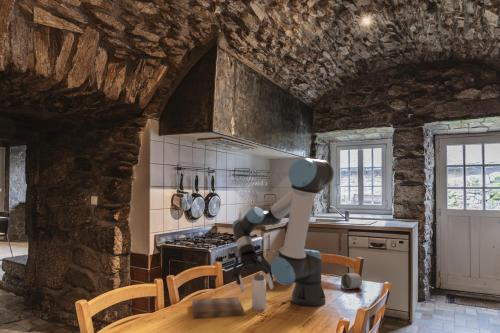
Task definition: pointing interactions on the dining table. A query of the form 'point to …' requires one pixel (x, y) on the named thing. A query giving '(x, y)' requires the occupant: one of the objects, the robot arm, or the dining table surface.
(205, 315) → the walnut board
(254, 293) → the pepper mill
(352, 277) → the ceramic mug
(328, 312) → the dining table surface
